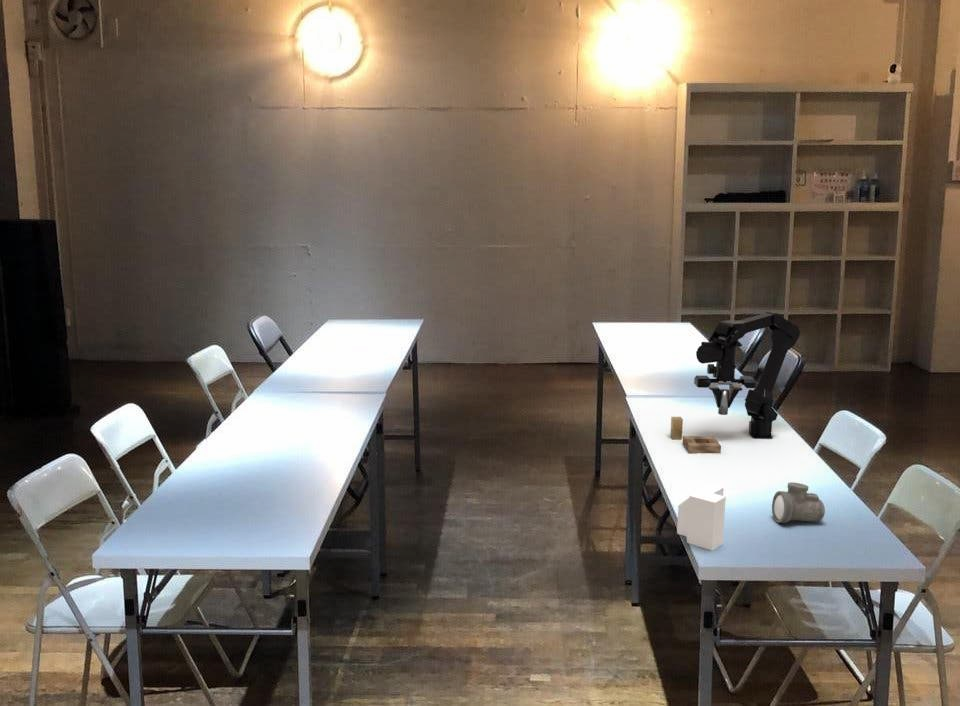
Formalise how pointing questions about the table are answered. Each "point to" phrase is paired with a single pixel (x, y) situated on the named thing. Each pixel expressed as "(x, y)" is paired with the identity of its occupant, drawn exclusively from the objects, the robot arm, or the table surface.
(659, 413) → the table surface
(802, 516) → the pipe fitting
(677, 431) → the square bit
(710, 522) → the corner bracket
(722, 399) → the cylinder
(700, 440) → the bore block
